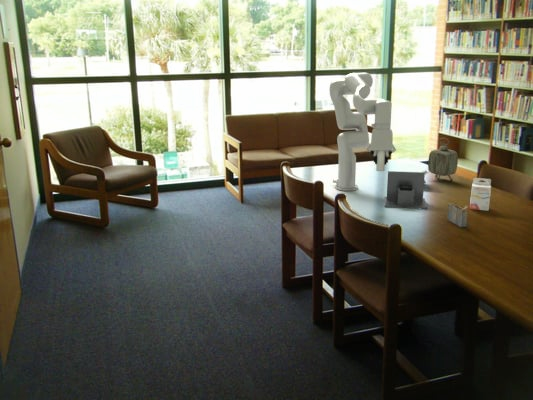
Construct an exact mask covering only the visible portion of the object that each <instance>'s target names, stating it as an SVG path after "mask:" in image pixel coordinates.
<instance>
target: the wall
mask: <svg viewBox="0 0 533 400" xmlns="http://www.w3.org/2000/svg"><path fill="white" fill-rule="evenodd" d="M422 172H425V176H427V175H428V174H430V173H431V172H429V171H427V170H426V169H425V170H423V171H422ZM425 184H427V182H426V179H424V185H425Z"/></svg>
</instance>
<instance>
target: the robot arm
mask: <svg viewBox="0 0 533 400" xmlns="http://www.w3.org/2000/svg"><path fill="white" fill-rule="evenodd" d="M373 80H374V79H373V77H372V75H371V74H370V73H369V72H352V73H349V74H347V75H346V76H345V77H344V78H338V79H335V80H333V81H332V82H331V83H330V85H329V97H330V99H331V102H332V105H333V106H334V107H333V108H334V114H335V119H336V124H337V127H338V129H339V130H344V132H340V133H339V134H338V135H337V138H336V140H337V141H336V142H337V149H338V171H337V172H338V173H337V175H338V176H337V178H333V180H332V183H334V184H335V183H336V184H335V187H334V188H335V189H336V190H339V191H345V192H346V191H348V192H349V191H352V192H353V191H356V190H358V188H359V186H358V184H356V173H357V172H356V171H357V165H356V164H357V156H356V154H355V152H354V151H353V150H356V149H364V148H365V149H366V150H367V152H369V153H370V154H371V155H372V156H373V163H374V165H376V164H377V151H385V166H387V163H389V157H390V156H391V154H392V153H394V152H396V151H397V149H396V147H395V144H393V138H394V136H393V130H392V129H391V125H392V123H391V122H392V104H393V103H392V101H391V100H386V99H384V98H380V97H379V98H368V97H369V95H370V94H371V88H372V86H373V82H374V81H373ZM349 95H353V96H352V104H353V107H354V109H355V110H356V111H352V109H351V104H350V102H349V100H348V99H347V98H346V97H345V96H349ZM367 115H369V116H370V115H374V123H371V125H370V126H371V128H372V132H371V138H370V136H369V129H368V124H367V119H366V116H367ZM347 130H348V131H347ZM350 130H351V131H350ZM353 130H354V131H353ZM370 139H371V140H370Z"/></svg>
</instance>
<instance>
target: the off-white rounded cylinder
mask: <svg viewBox="0 0 533 400" xmlns="http://www.w3.org/2000/svg"><path fill="white" fill-rule="evenodd" d="M376 154H377V164H375V166H376V168H375V170H376V172H384V171H385V168H386V167H385V166H386V165H385V156H386V151H377V153H376Z"/></svg>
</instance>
